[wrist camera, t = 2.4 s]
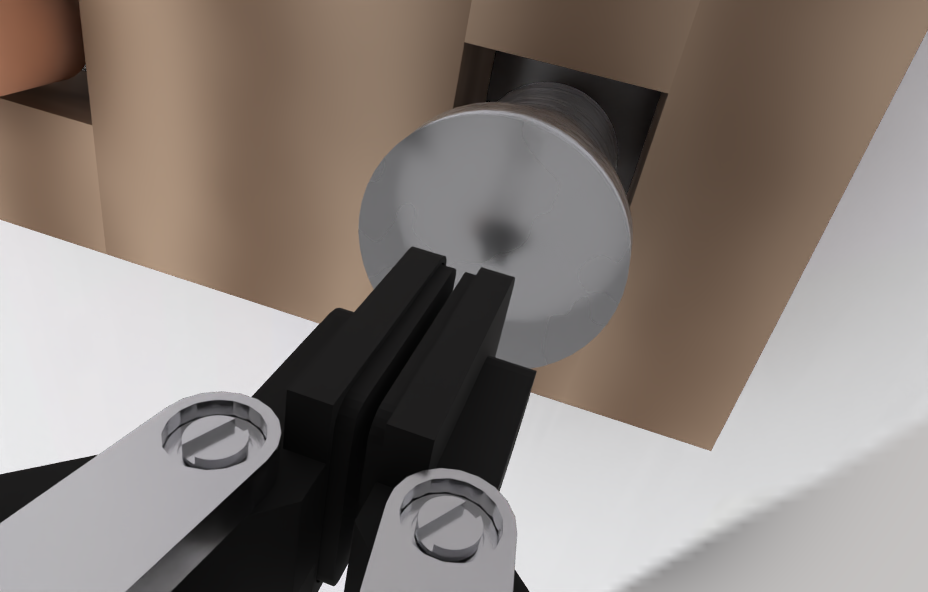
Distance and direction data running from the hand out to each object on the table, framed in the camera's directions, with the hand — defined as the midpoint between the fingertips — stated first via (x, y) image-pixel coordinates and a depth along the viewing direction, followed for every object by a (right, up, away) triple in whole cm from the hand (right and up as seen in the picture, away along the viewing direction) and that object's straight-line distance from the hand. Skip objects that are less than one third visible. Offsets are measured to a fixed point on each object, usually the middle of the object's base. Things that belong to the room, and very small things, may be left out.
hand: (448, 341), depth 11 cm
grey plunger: (+2, +4, +7) cm, 9 cm away
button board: (-4, +8, +11) cm, 14 cm away
